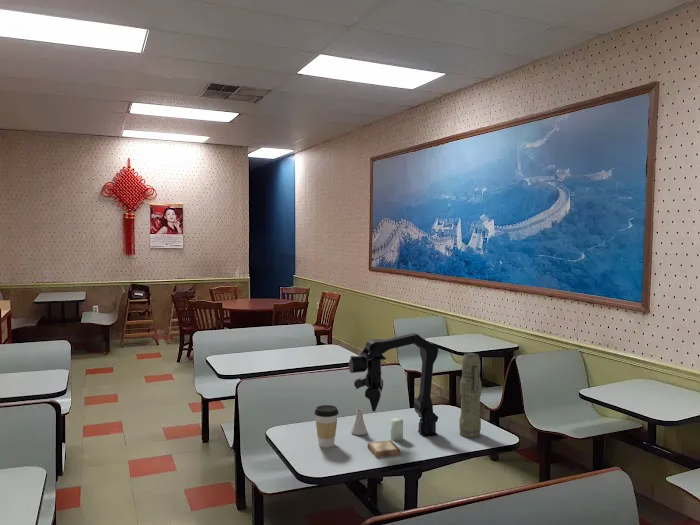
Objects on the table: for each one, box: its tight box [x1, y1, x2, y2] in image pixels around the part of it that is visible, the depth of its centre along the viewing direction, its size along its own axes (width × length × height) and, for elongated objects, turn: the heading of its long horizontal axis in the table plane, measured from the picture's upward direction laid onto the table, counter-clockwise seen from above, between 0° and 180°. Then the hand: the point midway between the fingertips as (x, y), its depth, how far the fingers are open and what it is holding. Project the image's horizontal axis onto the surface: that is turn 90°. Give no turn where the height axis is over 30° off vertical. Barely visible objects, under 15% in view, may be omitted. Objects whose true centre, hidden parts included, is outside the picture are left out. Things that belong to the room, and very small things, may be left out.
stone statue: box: [458, 352, 482, 439], centre depth 241 cm, size 9×12×35 cm
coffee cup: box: [313, 404, 339, 448], centre depth 229 cm, size 10×10×15 cm
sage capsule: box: [390, 417, 404, 442], centre depth 236 cm, size 5×5×8 cm
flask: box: [350, 408, 368, 436], centre depth 243 cm, size 7×7×10 cm
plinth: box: [367, 439, 401, 458], centre depth 223 cm, size 10×10×2 cm
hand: (374, 407), depth 234 cm, fingers open, 9 cm apart
